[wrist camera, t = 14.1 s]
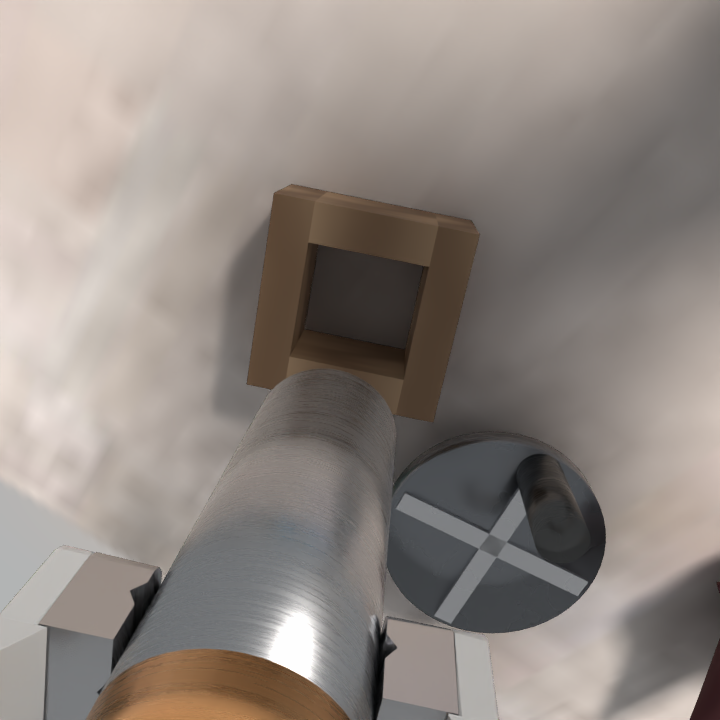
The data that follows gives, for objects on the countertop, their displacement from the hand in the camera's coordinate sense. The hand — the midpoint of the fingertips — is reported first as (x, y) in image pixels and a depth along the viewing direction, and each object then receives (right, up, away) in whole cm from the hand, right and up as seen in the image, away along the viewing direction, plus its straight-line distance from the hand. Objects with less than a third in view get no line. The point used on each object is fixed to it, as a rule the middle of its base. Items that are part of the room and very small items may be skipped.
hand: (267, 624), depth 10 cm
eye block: (+2, +7, +21) cm, 22 cm away
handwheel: (+7, -4, +22) cm, 24 cm away
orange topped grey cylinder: (+1, +2, +6) cm, 7 cm away
